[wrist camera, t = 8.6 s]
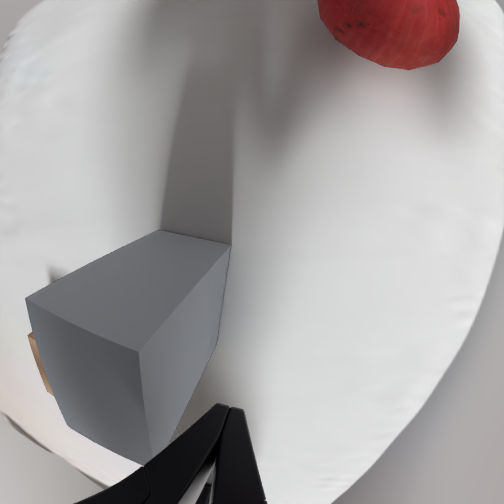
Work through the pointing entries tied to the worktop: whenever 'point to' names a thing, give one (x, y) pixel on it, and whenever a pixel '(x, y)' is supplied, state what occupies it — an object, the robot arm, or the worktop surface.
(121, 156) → the worktop surface
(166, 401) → the grey block
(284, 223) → the worktop surface
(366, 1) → the onion
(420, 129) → the worktop surface
